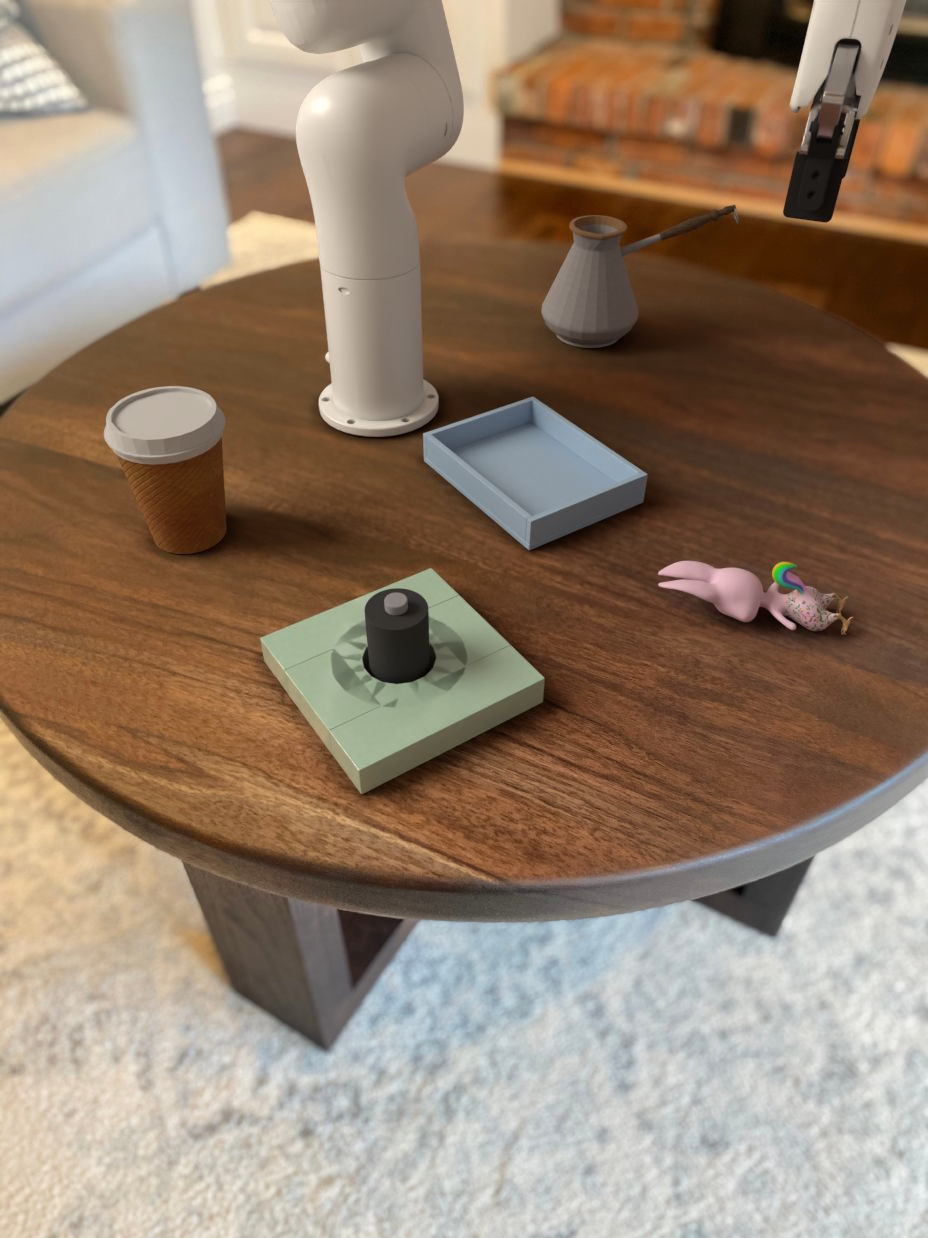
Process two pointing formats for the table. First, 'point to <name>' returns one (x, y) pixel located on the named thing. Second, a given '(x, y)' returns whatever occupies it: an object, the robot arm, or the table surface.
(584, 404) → the table surface
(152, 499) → the disposable coffee cup
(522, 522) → the tray
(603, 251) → the coffee pot
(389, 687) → the drain plate
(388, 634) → the plug
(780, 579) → the rabbit figure
